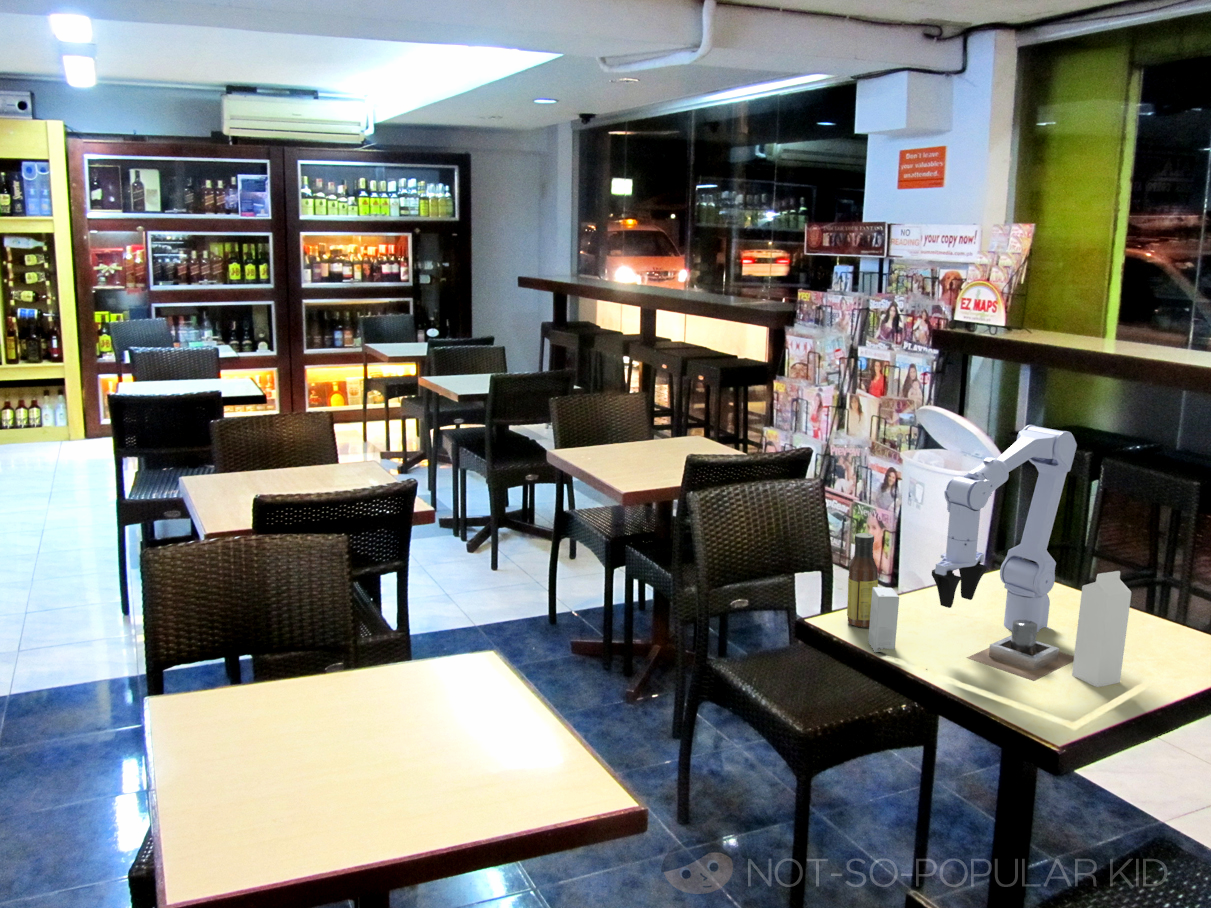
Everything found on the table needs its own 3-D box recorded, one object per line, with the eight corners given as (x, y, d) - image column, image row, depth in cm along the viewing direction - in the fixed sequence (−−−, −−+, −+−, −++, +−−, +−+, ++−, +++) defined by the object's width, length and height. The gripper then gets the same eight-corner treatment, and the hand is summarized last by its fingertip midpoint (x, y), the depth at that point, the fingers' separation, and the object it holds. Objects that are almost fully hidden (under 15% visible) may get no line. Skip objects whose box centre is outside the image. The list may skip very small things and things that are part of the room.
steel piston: (1016, 650, 212) (1018, 617, 211) (1038, 657, 209) (1041, 623, 208) (1005, 657, 209) (1008, 623, 208) (1028, 663, 206) (1031, 629, 205)
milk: (1119, 687, 199) (1135, 575, 194) (1095, 692, 196) (1111, 579, 192) (1093, 675, 204) (1107, 566, 199) (1069, 679, 202) (1084, 569, 197)
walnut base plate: (1013, 641, 220) (1013, 636, 220) (1078, 662, 210) (1079, 657, 210) (966, 662, 209) (966, 657, 209) (1033, 685, 198) (1033, 680, 198)
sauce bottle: (879, 622, 230) (886, 534, 226) (870, 631, 224) (877, 541, 220) (850, 616, 233) (857, 529, 229) (840, 624, 228) (847, 535, 224)
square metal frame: (1013, 645, 216) (1014, 634, 215) (1057, 659, 209) (1059, 648, 208) (988, 656, 210) (989, 644, 209) (1033, 671, 203) (1035, 659, 202)
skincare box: (895, 653, 212) (899, 597, 210) (874, 653, 213) (878, 596, 210) (888, 642, 218) (892, 587, 216) (867, 641, 219) (871, 586, 216)
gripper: (964, 526, 217) (958, 589, 220) (924, 538, 208) (918, 604, 211) (995, 534, 212) (989, 599, 215) (956, 547, 203) (950, 614, 205)
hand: (956, 602), depth 212 cm, fingers open, 7 cm apart
